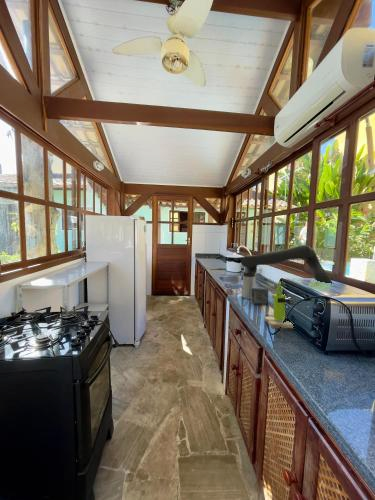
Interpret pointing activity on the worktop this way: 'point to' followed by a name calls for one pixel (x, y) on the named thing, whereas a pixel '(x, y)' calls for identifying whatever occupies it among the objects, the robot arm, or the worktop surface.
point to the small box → (260, 296)
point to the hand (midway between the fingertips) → (275, 298)
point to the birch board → (277, 322)
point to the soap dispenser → (279, 304)
